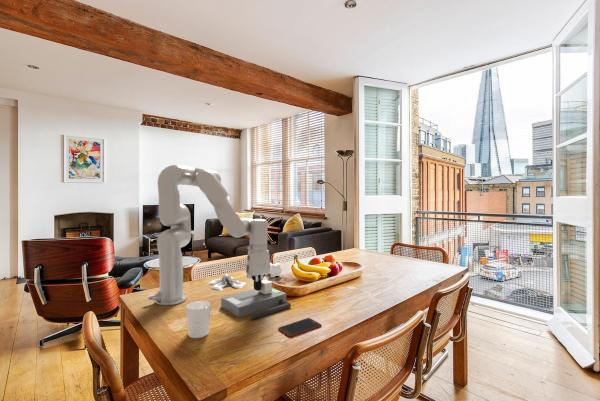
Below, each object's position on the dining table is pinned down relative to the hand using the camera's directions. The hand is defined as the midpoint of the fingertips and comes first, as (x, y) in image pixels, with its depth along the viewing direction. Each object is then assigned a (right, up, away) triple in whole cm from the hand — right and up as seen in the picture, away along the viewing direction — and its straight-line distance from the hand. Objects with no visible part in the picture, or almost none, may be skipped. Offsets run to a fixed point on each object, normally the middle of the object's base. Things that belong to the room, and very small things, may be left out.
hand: (257, 289), depth 130 cm
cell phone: (+18, -8, -22) cm, 30 cm away
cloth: (-20, -6, +27) cm, 34 cm away
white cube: (+3, -2, +3) cm, 4 cm away
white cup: (-16, -7, -27) cm, 32 cm away
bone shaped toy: (+1, -5, +45) cm, 45 cm away
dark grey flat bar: (+5, -7, -8) cm, 12 cm away
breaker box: (-1, -6, -1) cm, 6 cm away
